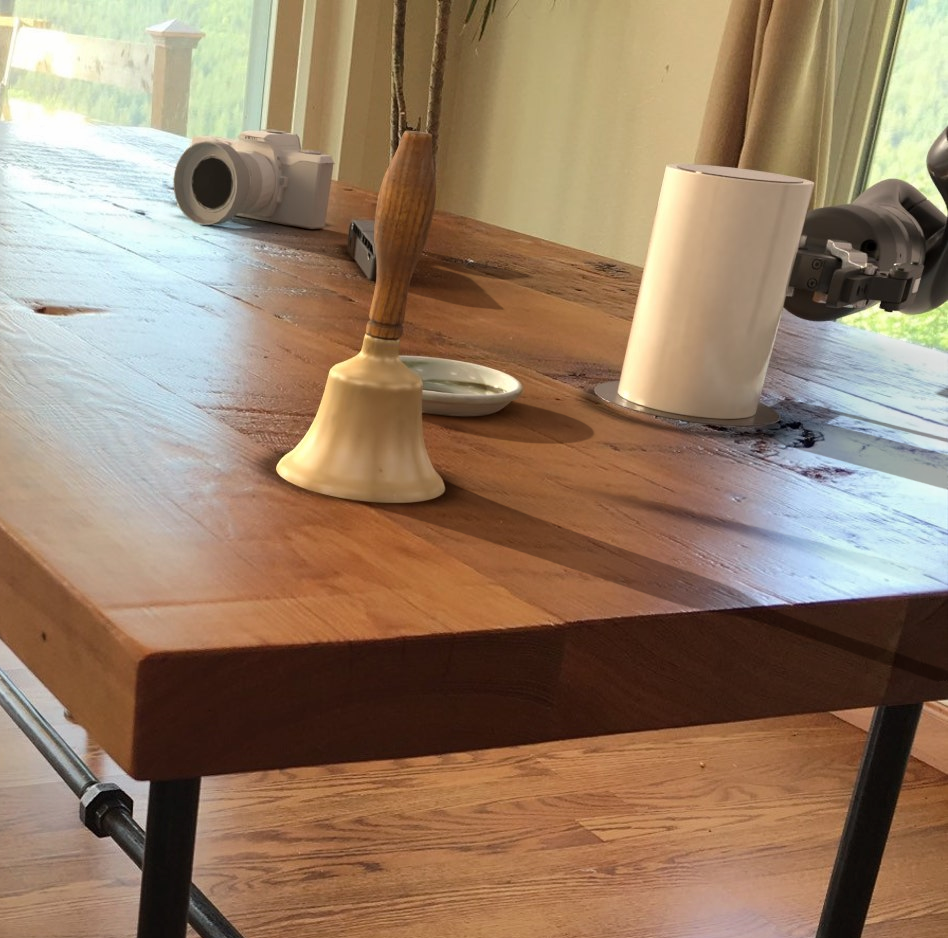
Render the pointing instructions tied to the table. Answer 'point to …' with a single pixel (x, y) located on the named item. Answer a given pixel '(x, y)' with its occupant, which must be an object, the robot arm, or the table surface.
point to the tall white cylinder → (713, 289)
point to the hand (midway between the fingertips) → (767, 277)
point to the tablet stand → (363, 246)
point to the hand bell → (379, 364)
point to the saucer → (462, 387)
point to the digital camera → (253, 180)
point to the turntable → (611, 395)
